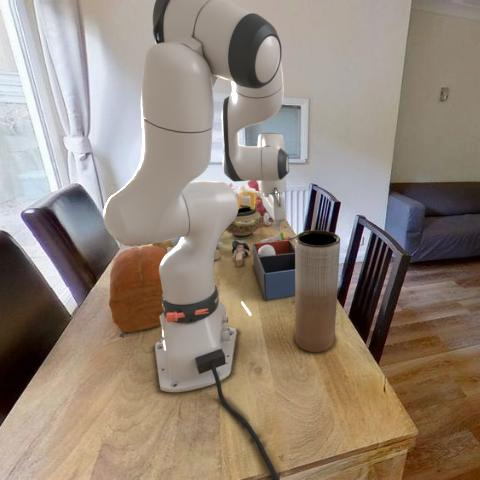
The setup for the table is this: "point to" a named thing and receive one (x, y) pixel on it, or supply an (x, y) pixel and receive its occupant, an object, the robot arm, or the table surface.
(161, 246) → the figurine
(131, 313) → the bread
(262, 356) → the table surface
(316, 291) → the planter
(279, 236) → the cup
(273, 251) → the lollipop
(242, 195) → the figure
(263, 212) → the toy
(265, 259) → the sorting bins
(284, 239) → the scissors
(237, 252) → the toy figure
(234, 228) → the ceramic bowl
